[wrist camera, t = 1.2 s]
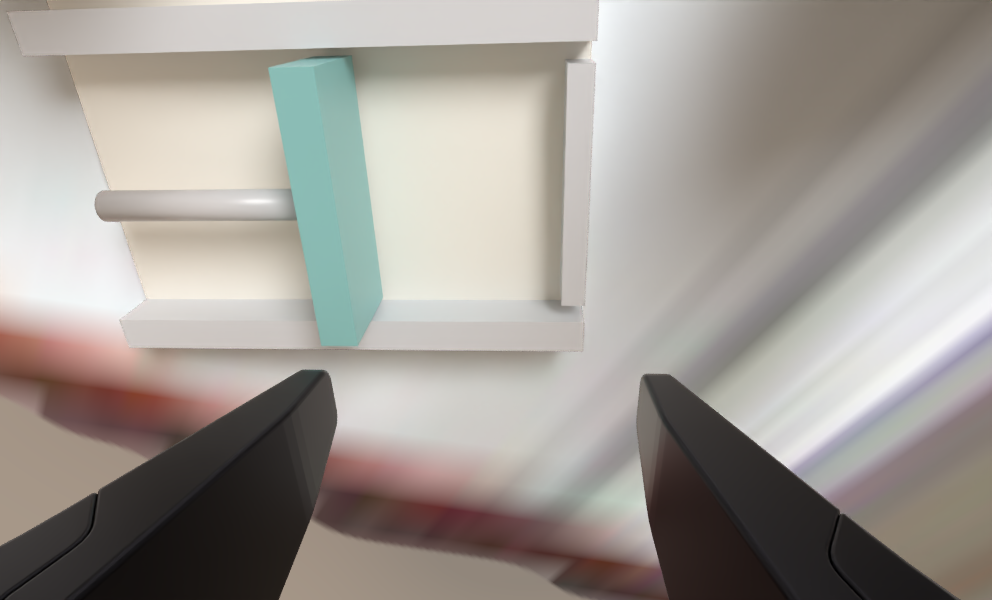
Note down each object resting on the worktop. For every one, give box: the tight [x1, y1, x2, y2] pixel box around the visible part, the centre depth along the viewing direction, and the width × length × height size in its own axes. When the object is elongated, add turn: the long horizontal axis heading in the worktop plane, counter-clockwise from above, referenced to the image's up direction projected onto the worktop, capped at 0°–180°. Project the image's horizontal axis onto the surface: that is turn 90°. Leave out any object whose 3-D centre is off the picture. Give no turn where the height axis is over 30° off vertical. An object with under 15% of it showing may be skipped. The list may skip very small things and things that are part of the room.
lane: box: [6, 0, 599, 352], centre depth 20 cm, size 17×12×2 cm
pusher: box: [95, 55, 383, 346], centre depth 19 cm, size 8×8×4 cm
